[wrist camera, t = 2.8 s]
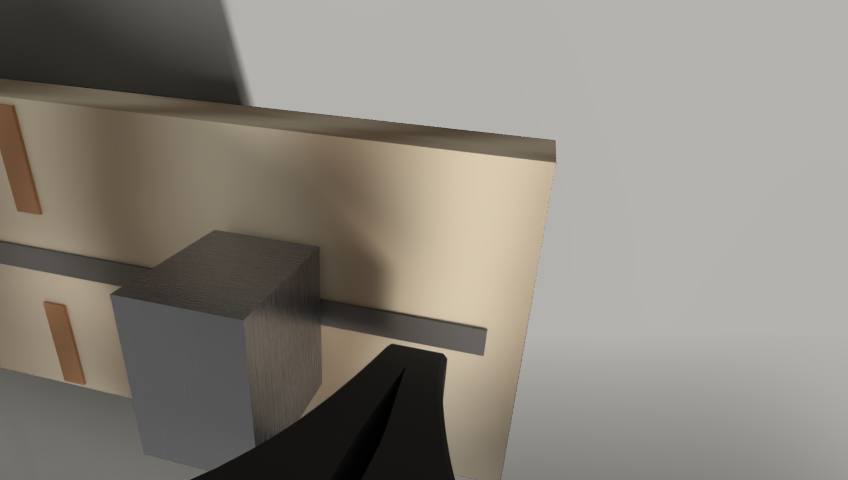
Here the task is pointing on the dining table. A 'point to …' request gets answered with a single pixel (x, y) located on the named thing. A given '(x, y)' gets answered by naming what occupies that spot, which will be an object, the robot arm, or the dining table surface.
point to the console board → (275, 234)
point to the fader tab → (221, 345)
